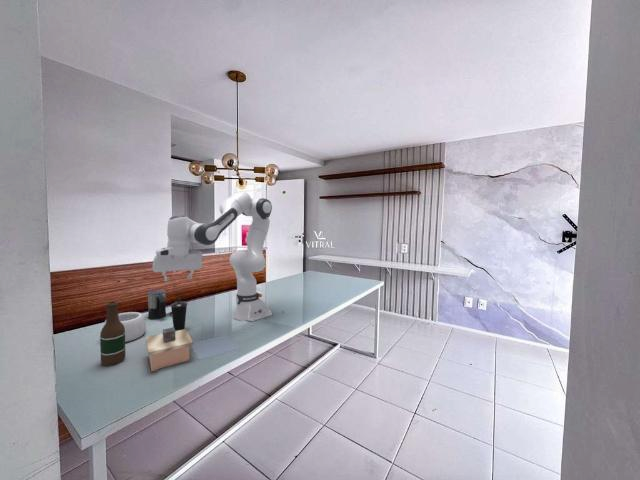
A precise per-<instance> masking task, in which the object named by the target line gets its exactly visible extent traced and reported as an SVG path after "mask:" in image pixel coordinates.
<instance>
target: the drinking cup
mask: <svg viewBox="0 0 640 480" xmlns="http://www.w3.org/2000/svg"><path fill="white" fill-rule="evenodd" d="M177 295H178V296H177V297H178V298H177V300H178V301H175V302H173V303H171V304H170V308H171V312H172V314H171V318H172V325H173V327H174V329H175V331H178V330H183V329H186V327H185V326H186V319H187V307H188V302H186V301H181V292H180V291H178V293H177ZM173 327H172V328H173Z"/></svg>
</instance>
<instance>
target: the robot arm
mask: <svg viewBox="0 0 640 480" xmlns="http://www.w3.org/2000/svg"><path fill="white" fill-rule="evenodd" d="M272 210H273V205H272V202H271V201H270V200H269V199H267V198H263V197H254V198H252V197H251V195H250V194H249V193H247V192H246V191H239V192H236V193H234V194H232V195H230V196H228V197H226V198H225V199H224V200H223V201H222V202H221V203H220V205H219V213H220V215H219V216H218V217H217V218H215V219H214V220H213V221H212V222H208V223H207V222H205V223H202V222H201V223H200V222H196V221H194V220H193V219H191V218H189V217H188V216H187V215H175V216H174V215H173V216H171V217H169V219H168V221H167V222H168V223H167V226H166V227H167V228H166V229H167V231H166V232H167V233H166V236H167V237H168V239H167V245H166V246H165V247H162V248H159V249H156V250H155V254H156V255H155V256H154V257H153V261H152V271H153V273H161V275H162V276H163V278H164V282H169V281H170V280H169V279H170V277H169V276H167V272H177V271H190V273H189V274H187V280H192V279H193V278H192V276H193V274H194V273H195V270H201V269H202V268H203V260H202V259H203V252H202V251H201V250H199V249H190V243H196V244H202V245H203V246H210V245H213V244H215V243H216V242H217V241H218V239H219V238H220V235H221V234H222V233H223V231H225V230H226V229H227V228H228V227H229V226H230V225H231V224H232V223H233V222H234V221H235V220H237V218H238V217H239V216H241V215H243V216H246V217H252V221H251V224H250V226H249V229H248V231H247V234H246V237H245V239H244V240H245V244H246V245H247V249H246V251H242V250H241V251H239V250H238V251H234V252H232V253H231V255H230V257H229V263H230V264H229V265H231V267H232V268H233V271H234V273H235V276H236V288H237V289H236V295H235V296H236V297H235V303H236V307H235V312H234V315H233V318H234V319H235V320H237V321H247V322H255V321H259V320H260V319H264V318H268V317H272V316H273V312H272V311H271V310H270V309H269V306H268V305H269V304H267V303H266V302H265V301H264V300H263V299H262V297H263V294H262V293H259V292H257V279H256V277H255V276H254V275H253V274H254V273H259V272H262V271H263V270H264V269H265V268H266V264H267V261H266V258H265V256H264V244H265V242H266V238H267V236H268V233H269V229H270V222H271V220H270V218H269V217H270V216H271V214H272Z"/></svg>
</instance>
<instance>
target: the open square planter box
mask: <svg viewBox="0 0 640 480" xmlns="http://www.w3.org/2000/svg"><path fill="white" fill-rule="evenodd" d="M148 359H149V367H150V371H151V373H152V372H155V371H158V370H159V369H161V368H165V367H166V368H167V367H169V366H172V365H173V366H174V365H176V364H181V363H185V362H188V361H190V346H187V347H183V348H178V349H174V350H170V351H166V352H162V353H158V354H154V355H149V356H148Z"/></svg>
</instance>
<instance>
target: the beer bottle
mask: <svg viewBox="0 0 640 480" xmlns="http://www.w3.org/2000/svg"><path fill="white" fill-rule="evenodd" d="M118 305H119V303H118V301H109V302H107V303H106V305H105V306H106V319H105V321H106V324H105V326H104V327H103V326H102V328H101V331H100V335H99V340H100V341H99V344H100V345H99V347H100V364H101V365H102V366H105V367H110V366H116V365H117V364H120V363H122V362H124V360H125V358H126V342H125V327H124V325H123V324H122V323H121V322H120V321H119V316H118V314H119V308H118Z"/></svg>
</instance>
